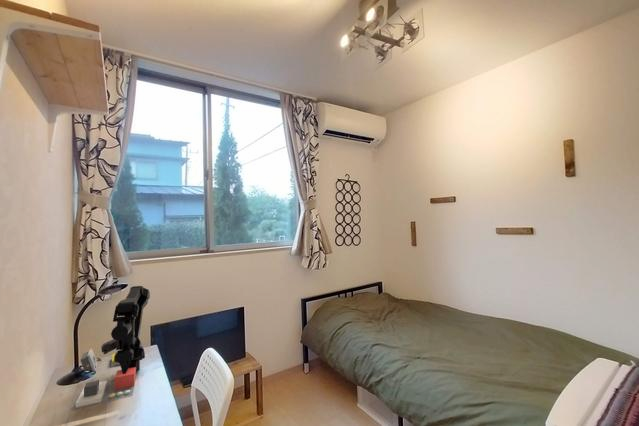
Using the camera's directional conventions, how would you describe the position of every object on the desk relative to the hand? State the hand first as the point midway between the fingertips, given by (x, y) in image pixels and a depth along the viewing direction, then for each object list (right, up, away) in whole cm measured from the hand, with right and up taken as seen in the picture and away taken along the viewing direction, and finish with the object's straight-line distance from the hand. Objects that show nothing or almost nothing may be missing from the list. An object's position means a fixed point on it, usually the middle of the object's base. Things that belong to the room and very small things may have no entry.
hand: (125, 368), depth 125 cm
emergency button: (-17, -9, +24) cm, 31 cm away
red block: (0, -6, 0) cm, 6 cm away
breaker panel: (-4, -7, -6) cm, 10 cm away
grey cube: (-6, -4, -11) cm, 13 cm away
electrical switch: (-26, -8, +13) cm, 30 cm away
